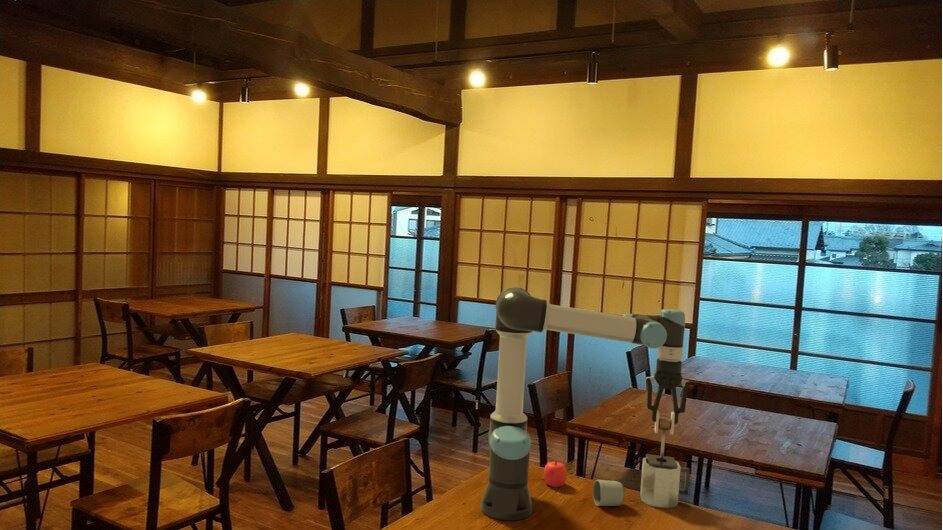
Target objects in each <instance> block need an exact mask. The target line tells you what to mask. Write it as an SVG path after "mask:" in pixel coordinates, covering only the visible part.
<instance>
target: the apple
mask: <svg viewBox="0 0 943 530" xmlns="http://www.w3.org/2000/svg"><path fill="white" fill-rule="evenodd" d="M543 475H544V478H543V479H544V483H546V484H547V485H548V486H550V487H551V486H552V488H558V487H559V486H560V487H563V486H564V485H565V484H566V480H567V475H568V474H567V467H566V466H565V464H564V463H562V462H558V460H555V461H550V462H549V461H548V462H547V463H546V464H545V466H544V470H543Z"/></svg>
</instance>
